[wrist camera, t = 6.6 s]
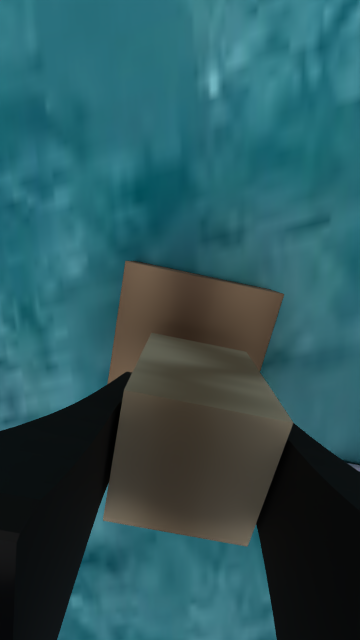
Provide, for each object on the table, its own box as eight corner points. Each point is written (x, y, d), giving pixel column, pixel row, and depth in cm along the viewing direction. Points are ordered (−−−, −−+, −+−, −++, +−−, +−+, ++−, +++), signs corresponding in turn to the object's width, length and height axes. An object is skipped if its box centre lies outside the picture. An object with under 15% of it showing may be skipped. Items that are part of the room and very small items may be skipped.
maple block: (246, 351, 11) (293, 422, 6) (222, 432, 12) (247, 546, 7) (151, 332, 11) (123, 390, 6) (136, 415, 12) (102, 520, 7)
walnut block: (268, 288, 18) (284, 294, 15) (233, 405, 20) (241, 429, 17) (135, 260, 17) (125, 260, 15) (116, 381, 20) (105, 402, 17)
